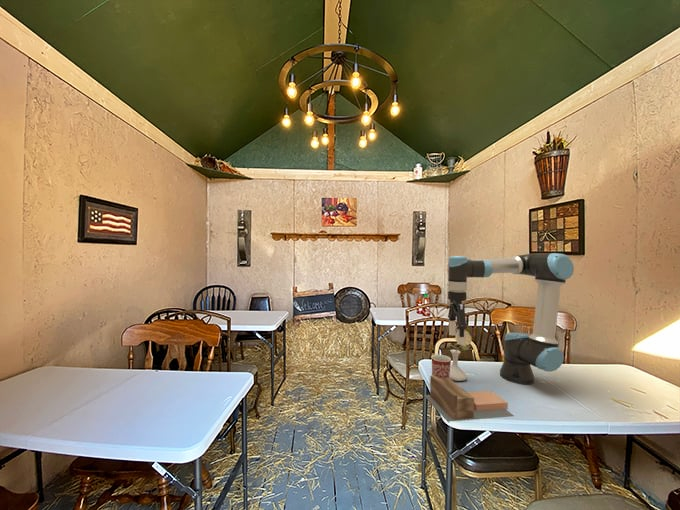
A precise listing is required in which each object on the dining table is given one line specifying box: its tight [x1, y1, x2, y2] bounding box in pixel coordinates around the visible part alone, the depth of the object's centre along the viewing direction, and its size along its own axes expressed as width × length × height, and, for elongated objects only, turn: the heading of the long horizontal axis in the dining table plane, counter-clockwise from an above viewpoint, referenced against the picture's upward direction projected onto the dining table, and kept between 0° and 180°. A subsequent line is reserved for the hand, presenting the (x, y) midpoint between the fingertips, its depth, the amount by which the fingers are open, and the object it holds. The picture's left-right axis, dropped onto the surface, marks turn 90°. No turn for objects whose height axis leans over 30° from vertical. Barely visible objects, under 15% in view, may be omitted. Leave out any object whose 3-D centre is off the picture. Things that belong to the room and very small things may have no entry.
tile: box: [466, 390, 508, 411], centre depth 121 cm, size 14×10×3 cm
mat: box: [423, 394, 515, 423], centre depth 120 cm, size 28×20×1 cm
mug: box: [430, 354, 452, 378], centre depth 139 cm, size 13×9×14 cm
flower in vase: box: [449, 330, 473, 382], centre depth 146 cm, size 13×11×25 cm
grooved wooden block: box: [429, 374, 474, 419], centre depth 118 cm, size 9×18×9 cm, turn 10°
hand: (456, 339), depth 126 cm, fingers open, 13 cm apart
